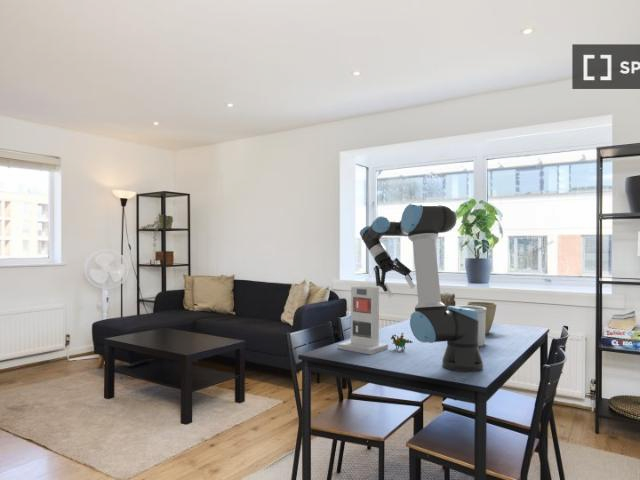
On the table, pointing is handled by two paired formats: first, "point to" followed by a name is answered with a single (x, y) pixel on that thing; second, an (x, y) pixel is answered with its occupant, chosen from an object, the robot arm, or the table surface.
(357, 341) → the rocker switch stand
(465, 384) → the table surface
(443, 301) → the owl
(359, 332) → the black rocker
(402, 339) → the figurine
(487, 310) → the plant pot
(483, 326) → the utensil holder
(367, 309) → the red rocker
